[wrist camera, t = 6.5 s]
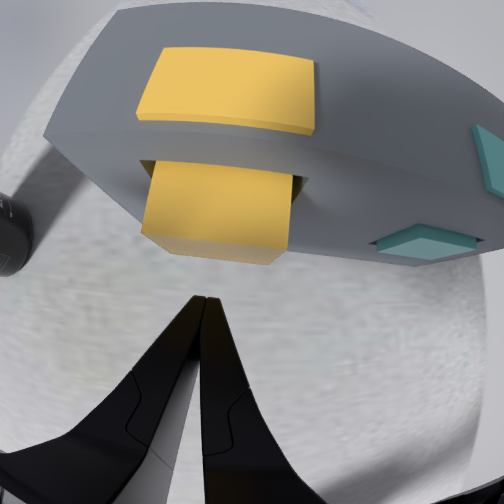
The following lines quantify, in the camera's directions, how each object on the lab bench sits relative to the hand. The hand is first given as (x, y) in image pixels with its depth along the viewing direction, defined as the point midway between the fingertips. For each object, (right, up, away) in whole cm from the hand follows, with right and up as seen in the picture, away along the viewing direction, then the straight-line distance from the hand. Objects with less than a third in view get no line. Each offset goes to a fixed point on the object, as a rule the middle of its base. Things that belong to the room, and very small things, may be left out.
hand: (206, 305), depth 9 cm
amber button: (0, +3, +3) cm, 4 cm away
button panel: (+5, +4, +11) cm, 13 cm away
